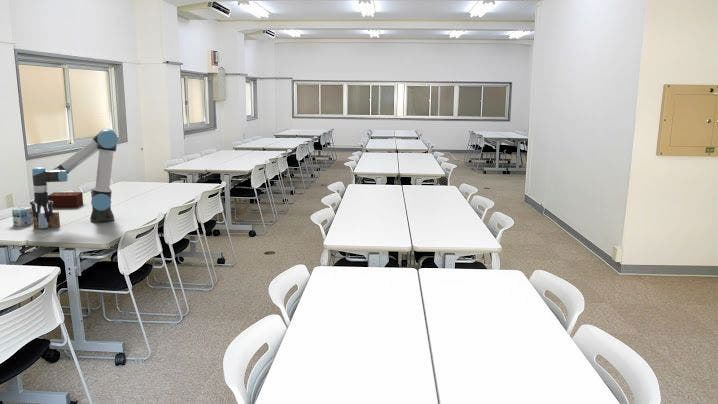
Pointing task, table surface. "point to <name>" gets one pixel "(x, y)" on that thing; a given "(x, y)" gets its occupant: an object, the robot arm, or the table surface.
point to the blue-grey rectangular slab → (42, 219)
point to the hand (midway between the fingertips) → (43, 226)
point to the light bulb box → (22, 216)
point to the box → (66, 199)
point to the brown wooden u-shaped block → (53, 221)
